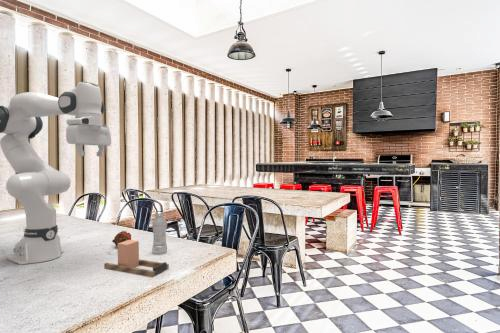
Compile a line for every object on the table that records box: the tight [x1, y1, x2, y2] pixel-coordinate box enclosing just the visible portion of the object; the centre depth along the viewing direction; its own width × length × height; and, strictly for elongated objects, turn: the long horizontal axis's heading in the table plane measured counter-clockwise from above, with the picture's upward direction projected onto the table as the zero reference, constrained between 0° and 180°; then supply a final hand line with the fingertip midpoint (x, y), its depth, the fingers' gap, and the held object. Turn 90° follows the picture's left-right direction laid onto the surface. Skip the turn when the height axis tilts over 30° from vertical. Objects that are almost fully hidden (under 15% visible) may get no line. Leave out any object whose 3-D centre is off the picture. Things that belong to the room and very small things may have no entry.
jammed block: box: [117, 239, 140, 268], centre depth 118 cm, size 5×6×10 cm
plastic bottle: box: [151, 210, 168, 255], centre depth 137 cm, size 6×7×20 cm
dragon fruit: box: [111, 230, 132, 247], centre depth 151 cm, size 8×8×12 cm
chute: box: [103, 258, 170, 278], centre depth 116 cm, size 24×9×4 cm, turn 67°
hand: (91, 156), depth 120 cm, fingers open, 8 cm apart
